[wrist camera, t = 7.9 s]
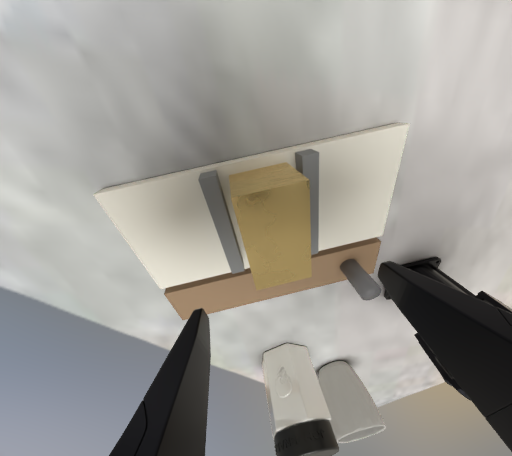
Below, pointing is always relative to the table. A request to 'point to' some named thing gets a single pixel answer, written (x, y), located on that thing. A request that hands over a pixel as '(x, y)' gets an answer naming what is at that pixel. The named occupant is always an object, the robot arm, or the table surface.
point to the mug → (349, 403)
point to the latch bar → (274, 223)
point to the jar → (296, 404)
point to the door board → (228, 233)
